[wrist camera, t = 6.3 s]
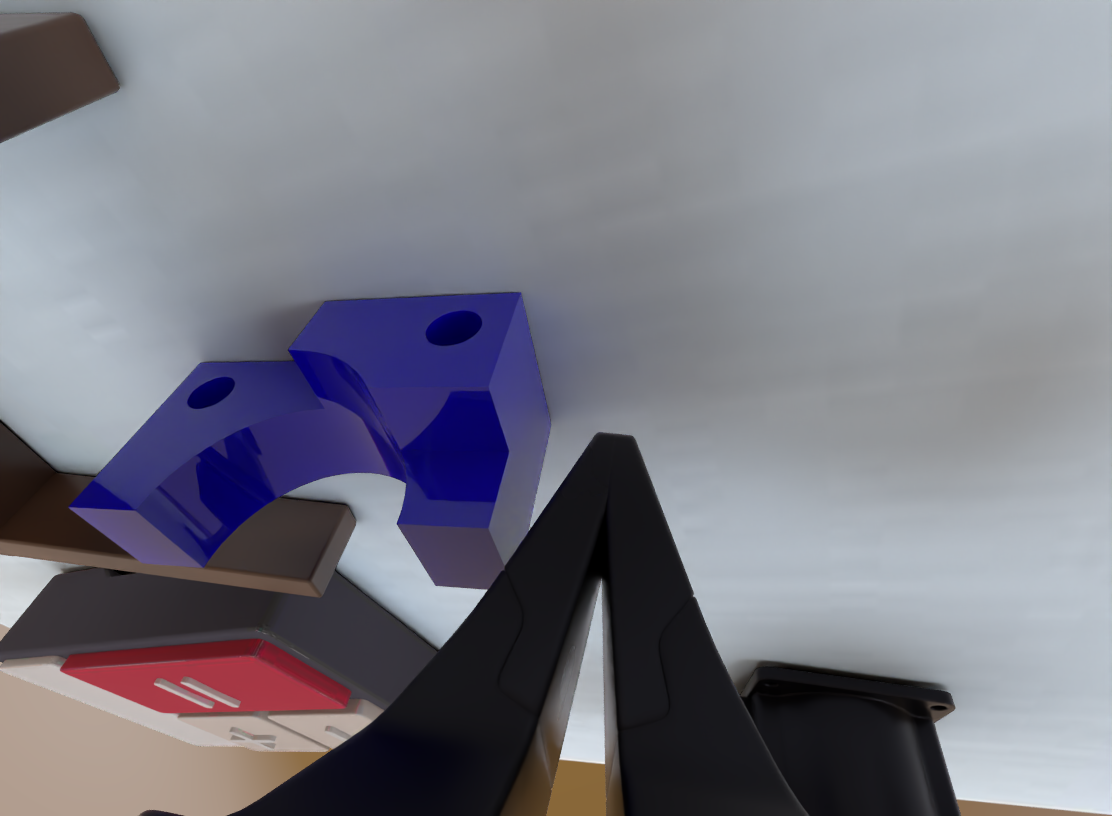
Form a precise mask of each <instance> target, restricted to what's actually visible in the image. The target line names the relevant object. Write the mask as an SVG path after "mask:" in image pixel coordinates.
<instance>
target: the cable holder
mask: <svg viewBox="0 0 1112 816" xmlns="http://www.w3.org/2000/svg"><path fill="white" fill-rule="evenodd" d="M288 351H289V353H290V354H291V356H292V358H293V359H294V361H270V362H219V363H200V364H199V365H198V366H197V367H196V368H195V369H194V370H193V371H192V372H191V373H190V375H189V376H188V377H187V378H186V379H185V380H184V381H183V382H182V383H181V384H180V385H179V387H178V388H177V389H176V390H175V391H174V392H173V393H172V394H171V395H170V396H169V397H168V399H167V400H166V401H165V402H164V403H163V404H162V405H161V406H160V407H159V408H158V409H157V411H156V412H155V413H154V414H153V415H152V416H151V417H150V418H149V419H148V420H147V421H146V423H145V424H144V425H143V426H142V427H141V428H140V429H139V430H138V431H137V432H136V433H135V435H134V436H133V437H132V438H131V439H130V440H129V441H128V442H127V443H126V444H125V445H124V447H123V448H122V449H121V450H120V451H119V452H118V453H117V454H116V455H115V456H114V457H113V459H112V460H111V461H110V462H109V463H108V464H107V465H106V466H105V467H104V468H103V469H102V471H101V472H100V473H99V474H98V475H97V476H96V477H95V478H94V479H93V480H92V481H91V483H90V484H89V485H88V486H87V487H86V488H85V489H84V490H83V491H82V492H81V493H80V495H79V496H78V497H77V498H76V499H75V500H74V501H73V502H72V503H71V504H70V505H69V506H68V508H69V509H71V510H72V511H73V512H75V513H76V514H77V515H79V516H80V517H81V518H83V519H84V520H85V521H87V522H88V523H89V524H91V525H92V526H93V527H95V528H96V529H97V530H99V531H100V532H101V533H103V534H104V535H105V536H107V537H108V538H109V539H111V540H112V541H113V542H115V543H116V544H117V545H119V546H120V547H121V548H123V549H124V550H125V551H127V552H128V553H129V554H131V555H132V556H133V557H135V558H136V559H137V560H138V561H140V562H141V563H143V564H156V565H170V566H183V567H196V568H204V567H205V565H206V564H207V562H208V561H209V560H210V558H211V557H212V555H213V554H214V553H215V552H216V551H217V549H218V548H219V547H220V546H221V544H222V543H223V542H224V541H225V540H226V539H227V538H228V537H229V536H230V535H231V534H232V533H233V532H234V531H235V530H236V529H237V528H238V527H239V526H240V525H241V524H242V523H244V522H245V521H246V520H247V519H248V518H250V517H251V516H252V515H253V514H255V513H256V512H257V511H259V510H260V509H261V508H263V507H264V506H266V505H267V504H269V503H270V502H272V501H273V500H275V499H277V498H278V497H280V496H282V495H284V494H286V493H287V492H289V491H292V490H294V489H296V488H298V487H300V486H303V485H305V484H308V483H310V482H313V481H316V480H319V479H322V478H326V477H330V476H335V475H340V474H347V473H375V474H382V475H386V476H390V477H393V478H396V479H398V480H401V481H403V482H405V483H406V491H405V498H404V502H403V506H402V510H401V513H400V516H399V519H398V522H397V525H398V527H399V528H400V530H401V532H402V533H403V535H404V536H405V538H406V539H407V541H408V543H409V544H410V546H411V547H412V549H413V551H414V552H415V554H416V555H417V557H418V558H419V560H420V562H421V563H422V565H423V566H424V568H425V570H426V571H427V573H428V574H429V576H430V577H431V579H432V581H433V582H434V584H435V585H436V586H447V587H460V588H473V589H487V590H488V589H489V588H490V587H491V585H492V584H493V582H494V581H495V579H496V578H497V576H498V575H499V574H500V572H501V571H502V570H504V567H505V565H506V564H507V562H508V561H509V559H510V558H511V556H512V555H513V554H514V552H515V551H516V549H517V548H518V546H519V545H520V543H521V542H522V540H523V539H524V538H525V536H526V535H527V533H528V531H529V526H530V521H531V517H532V512H533V508H534V503H535V498H536V494H537V489H538V484H539V480H540V475H541V470H542V466H543V461H544V456H545V452H546V447H547V442H548V438H549V433H550V428H551V421H550V417H549V412H548V408H547V404H546V399H545V395H544V391H543V386H542V382H541V377H540V373H539V369H538V364H537V360H536V356H535V351H534V347H533V343H532V338H531V334H530V329H529V325H528V321H527V316H526V312H525V308H524V303H523V299H522V294H521V292H519V293H497V294H475V295H453V296H431V297H409V298H388V299H366V300H344V301H325V302H324V303H323V305H322V306H321V307H320V308H319V310H318V311H317V312H316V314H315V315H314V316H313V318H312V319H311V320H310V321H309V323H308V324H307V325H306V327H305V328H304V329H303V331H302V332H301V333H300V334H299V336H298V337H297V338H296V340H295V341H294V342H293V344H292V345H291V346H290V348H289V349H288ZM504 571H505V570H504Z"/></svg>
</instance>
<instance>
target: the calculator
mask: <svg viewBox="0 0 1112 816" xmlns="http://www.w3.org/2000/svg"><path fill="white" fill-rule="evenodd" d="M436 653H437V651H436V650H435V649H434V648H432V647H431V646H430V645H428V644H427V643H426V642H425V641H423V640H422V639H421V638H420V637H418V636H417V635H416V634H414V633H413V632H412V631H411V630H409V629H408V628H407V627H406V626H404V625H403V624H402V623H400V622H399V621H398V620H397V619H395V618H394V617H393V616H392V615H390V614H389V613H388V612H387V611H385V610H384V609H383V608H381V607H380V606H379V605H378V604H376V603H375V602H374V601H373V600H371V599H370V598H369V597H367V596H366V595H365V594H364V593H362V592H361V591H360V590H359V589H357V588H356V587H355V586H353V585H352V584H351V583H350V582H348V581H347V580H346V579H345V578H343V577H342V576H341V575H339V574H338V573H337V572H336V571H334V572H333V575H332V577H331V579H330V581H329V583H328V585H327V587H326V589H325V591H324V594H323V596H322V597H311V596H304V595H297V594H289V593H282V592H275V591H268V590H260V589H253V588H246V587H238V586H231V585H224V584H217V583H209V582H202V581H195V580H187V579H180V578H173V577H165V576H158V575H151V574H144V573H133V574H127V575H120V574H118V573H117V572H115V571H113V570H111V569H107V568H100V567H99V568H93V569H87V570H81V571H75V572H69V573H64V574H59V575H56V576H54V577H53V578H52V579H51V581H50V582H49V583H48V584H47V585H46V586H45V588H44V589H43V590H42V591H41V592H40V594H39V595H38V596H37V597H36V599H35V600H34V601H33V602H32V603H31V605H30V606H29V607H28V608H27V609H26V611H25V612H24V613H23V614H22V616H21V617H20V618H19V619H18V620H17V622H16V623H15V624H14V625H13V626H12V628H11V629H10V630H9V632H8V633H7V634H6V635H5V636H4V637H3V639H2V640H1V641H0V662H2V663H3V664H2V665H1V666H0V671H2V672H5V673H7V674H10V675H12V676H15V677H18V678H20V679H23V680H25V681H28V682H30V683H33V684H36V685H38V686H41V687H44V688H46V689H49V690H51V691H54V692H57V693H59V694H62V695H64V696H67V697H70V698H72V699H75V700H78V701H80V702H83V703H85V704H88V705H91V706H93V707H96V708H98V709H101V710H104V711H106V712H109V713H112V714H114V715H117V716H119V717H122V718H125V719H127V720H130V721H132V722H135V723H138V724H140V725H143V726H146V727H148V728H151V729H154V730H156V731H159V732H161V733H164V734H166V735H169V736H172V737H174V738H177V739H180V740H183V741H185V742H187V743H190V744H193V745H196V746H243V747H246V748H248V749H251V750H254V751H298V752H300V751H301V752H307V751H308V752H326V751H328V750H329V748H333V749H334V748H336V747H337V746H339V745H340V744H342V743H343V742H345V741H346V740H348V739H349V738H350V737H352V736H353V735H355V734H356V733H358V732H359V731H361V730H362V729H363V728H365V727H366V726H367V725H369V724H370V723H371V722H372V721H374V720H375V719H376V718H377V717H378V716H379V715H380V714H381V713H382V712H383V711H384V710H385V709H387V708H388V707H389V706H390V705H391V704H392V703H393V701H394V700H395V699H396V698H397V697H398V696H399V695H400V694H401V693H402V692H403V691H404V689H405V688H406V687H407V686H408V685H409V684H410V683H411V682H412V680H413V679H414V678H415V677H416V676H417V675H418V674H419V672H420V671H421V670H422V669H423V668H424V667H425V666H426V665H427V663H428V662H429V661H430V660H431V659H432V658H433V657H434V655H435V654H436Z"/></svg>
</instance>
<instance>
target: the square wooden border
mask: <svg viewBox="0 0 1112 816" xmlns="http://www.w3.org/2000/svg"><path fill="white" fill-rule="evenodd" d="M119 89H120V86H119V83H118V81H117V79H116V77H115V75H114V74H113V72H112V70H111V68H110V66H109V64H108V63H107V61H106V59H105V57H104V55H103V53H102V51H101V50H100V48H99V46H98V44H97V42H96V40H95V39H94V37H93V35H92V33H91V31H90V29H89V27H88V26H87V24H86V22H85V20H84V19H83V18H82V16H81V15H79V14H76V13H72V12H66V13H14V14H0V143H2V142H4V141H6V140H8V139H11V138H13V137H15V136H18V135H20V134H22V133H24V132H27V131H29V130H31V129H34V128H36V127H38V126H40V125H43V124H45V123H47V122H49V121H52V120H54V119H56V118H59V117H61V116H63V115H65V114H68V113H70V112H72V111H74V110H77V109H79V108H81V107H84V106H86V105H88V104H90V103H93V102H95V101H97V100H99V99H102V98H104V97H106V96H109V95H111V94H113V93H115V92H117V91H118V90H119ZM94 478H95V477H89V476H81V475H72V474H63V473H56V472H55V471H54V470H53V469H52V468H51V467H50V466H49V465H47V464H46V463H45V462H44V461H43V460H42V459H41V458H40V457H39V456H37V455H36V454H35V453H34V452H33V451H32V450H31V449H30V448H28V447H27V446H26V445H25V444H24V443H23V442H22V441H21V440H20V439H18V438H17V437H16V436H15V435H14V434H13V433H12V432H11V431H9V430H8V429H7V428H6V427H5V426H4V425H3V424H2V423H1V422H0V554H1V555H8V556H20V557H27V558H34V559H42V560H49V561H56V562H63V563H71V564H78V565H85V566H93V567H100V568H107V569H114V570H122V571H129V572H136V573H144V574H151V575H158V576H165V577H173V578H180V579H187V580H195V581H202V582H209V583H217V584H224V585H231V586H238V587H246V588H253V589H260V590H268V591H275V592H282V593H289V594H297V595H304V596H311V597H322V596H323V594H324V591H325V589H326V587H327V585H328V583H329V581H330V579H331V577H332V575H333V572H334V570H335V568H336V566H337V564H338V562H339V560H340V558H341V555H342V553H343V551H344V549H345V547H346V545H347V543H348V541H349V539H350V536H351V534H352V532H353V530H354V528H355V526H356V520H355V518H354V517H353V515H352V513H351V511H350V509H349V507H348V506H346V505H340V504H331V503H322V502H313V501H304V500H295V499H286V498H277V499H275V500H273V501H272V502H270V503H269V504H267V505H266V506H264V507H263V508H261V509H260V510H259V511H257V512H256V513H255V514H253V515H252V516H251V517H250V518H248V519H247V520H246V521H245V522H244V523H242V524H241V525H240V526H239V527H238V528H237V529H236V530H235V531H234V532H233V533H232V534H231V535H230V536H229V537H228V538H227V539H226V540H225V541H224V542H223V543H222V544H221V546H220V547H219V548H218V549H217V551H216V552H215V553H214V554H213V555H212V557H211V558H210V560H209V561H208V562H207V564H206V565H205V567H204V568H196V567H183V566H170V565H156V564H143V563H141V562H140V561H138V560H137V559H136V558H135V557H133V556H132V555H131V554H129V553H128V552H127V551H125V550H124V549H123V548H121V547H120V546H119V545H117V544H116V543H115V542H113V541H112V540H111V539H109V538H108V537H107V536H105V535H104V534H103V533H101V532H100V531H99V530H97V529H96V528H95V527H93V526H92V525H91V524H89V523H88V522H87V521H85V520H84V519H83V518H81V517H80V516H79V515H77V514H76V513H75V512H73V511H72V510H71V509H69V508H68V506H69V505H70V504H71V503H72V502H73V501H74V500H75V499H76V498H77V497H78V496H79V495H80V493H81V492H82V491H83V490H84V489H85V488H86V487H87V486H88V485H89V484H90V483H91V481H92V480H93V479H94Z"/></svg>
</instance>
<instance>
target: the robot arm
mask: <svg viewBox="0 0 1112 816" xmlns="http://www.w3.org/2000/svg"><path fill="white" fill-rule="evenodd" d="M504 570H505V571H504ZM504 570H502V571H501V572H500V574H499V575H498V576H497V578H496V579H495V581H494V582H493V584H492V585H491V587H490V588H489V589H488V591H487V592H486V593H485V595H484V596H483V597H482V599H481V600H480V602H479V603H478V604H477V606H476V607H475V608H474V610H473V611H472V612H471V613H470V615H469V616H468V617H467V618H466V619H465V621H464V622H463V623H462V624H461V625H460V627H459V628H458V629H457V630H456V631H455V633H454V634H453V635H452V636H451V637H450V638H449V640H448V641H447V642H446V643H445V644H444V645H443V646H442V648H441V649H440V650H439V651H438V652H437V653H436V654H435V655H434V657H433V658H432V659H431V660H430V661H429V662H428V663H427V665H426V666H425V667H424V668H423V669H422V670H421V671H420V672H419V674H418V675H417V676H416V677H415V678H414V679H413V680H412V682H411V683H410V684H409V685H408V686H407V687H406V688H405V689H404V691H403V692H402V693H401V694H400V695H399V696H398V697H397V698H396V699H395V700H394V701H393V703H392V704H391V705H390V706H389V707H388V708H387V709H385V710H384V711H383V712H382V713H381V714H380V715H379V716H378V717H377V718H376V719H375V720H374V721H372V722H371V723H370V724H369V725H367V726H366V727H365V728H363V729H362V730H361V731H359V732H358V733H356V734H355V735H353V736H352V737H350V738H349V739H348V740H346V741H345V742H343V743H342V744H340V745H339V746H337V747H336V748H334V749H333V750H331V751H330V752H328V753H327V754H326V755H324V756H322V757H321V758H320V759H318V760H317V761H315V762H314V763H312V764H311V765H309V766H308V767H306V768H305V769H303V770H302V771H300V772H299V773H297V774H296V775H295V776H293V777H291V778H290V779H289V780H287V781H286V782H284V783H283V784H281V785H280V786H278V787H277V788H275V789H274V790H272V791H271V792H270V793H268V794H266V795H265V796H264V797H262V798H261V799H259V800H257V801H256V802H254V803H252V804H251V805H249V806H247V807H246V808H244V809H242V810H240V811H238V812H235V813H232V814H230V815H227V816H546V814H547V810H548V805H549V801H550V797H551V792H552V790H551V788H552V787H553V784H554V779H555V774H556V771H557V767H558V762H559V758H560V754H561V749H562V745H563V741H564V737H565V732H566V728H567V724H568V720H569V715H570V711H571V707H572V702H573V698H574V694H575V690H576V685H577V681H578V677H579V673H580V668H581V664H582V660H583V655H584V651H585V647H586V643H587V638H588V634H589V630H590V626H591V621H592V617H593V613H594V608H595V604H596V600H597V596H598V591H599V587H600V583H601V578H602V622H603V673H604V725H605V771H606V772H605V774H606V775H605V777H606V799H607V800H606V816H961V814H960V810H959V807H958V804H957V800H956V797H955V793H954V790H953V786H952V783H951V780H950V776H949V773H948V769H947V766H946V763H945V759H944V756H943V752H942V749H941V746H940V742H939V739H938V735H937V732H936V728H935V725H934V723H935V722H937V721H938V720H940V719H941V718H943V717H944V716H946V715H947V714H949V713H950V712H952V711H954V710H955V705H954V702H953V699H952V696H951V694H950V693H948V692H945V691H941V690H934V689H926V688H919V687H912V686H905V685H898V684H890V683H883V682H876V681H869V680H862V679H854V678H847V677H840V676H833V675H826V674H818V673H811V672H804V671H797V670H790V669H782V668H775V667H761V668H758V669H756V670H755V672H754V673H753V675H752V676H751V678H750V680H749V681H748V683H747V685H746V686H745V688H744V690H743V691H742V693H741V695H739V693H738V691H737V689H736V687H735V685H734V684H733V682H732V680H731V678H730V676H729V674H728V671H727V669H726V667H725V665H724V663H723V661H722V659H721V657H720V655H719V653H718V651H717V649H716V647H715V644H714V642H713V639H712V637H711V635H710V632H709V630H708V627H707V625H706V623H705V620H704V618H703V615H702V613H701V610H700V607H699V605H698V602H697V600H696V598H695V597H693V595H694V592H693V590H692V587H691V584H690V582H689V579H688V576H687V574H686V571H685V569H684V566H683V563H682V561H681V558H680V555H679V553H678V550H677V548H676V545H675V542H674V540H673V537H672V534H671V532H670V529H669V526H668V524H667V521H666V519H665V516H664V513H663V511H662V508H661V505H660V503H659V500H658V498H657V495H656V492H655V490H654V487H653V484H652V482H651V479H650V476H649V474H648V471H647V469H646V466H645V463H644V461H643V458H642V455H641V453H640V450H639V448H638V445H637V442H636V440H635V438H634V437H633V436H631V435H623V434H613V433H603V432H599V433H597V434H596V435H595V436H594V437H593V439H592V440H591V442H590V443H589V445H588V446H587V448H586V449H585V451H584V452H583V453H582V455H581V456H580V458H579V459H578V461H577V462H576V464H575V465H574V466H573V468H572V469H571V471H570V472H569V474H568V475H567V477H566V478H565V480H564V481H563V482H562V484H561V485H560V487H559V488H558V490H557V491H556V493H555V494H554V495H553V497H552V498H551V500H550V501H549V503H548V504H547V506H546V507H545V509H544V510H543V511H542V513H541V514H540V516H539V517H538V519H537V520H536V522H535V523H534V525H533V526H532V527H531V529H530V530H529V532H528V533H527V535H526V536H525V538H524V539H523V540H522V542H521V543H520V545H519V546H518V548H517V549H516V551H515V552H514V554H513V555H512V556H511V558H510V559H509V561H508V562H507V564H506V565H505V567H504ZM139 816H183V815H178V814H174V813H169V812H164V811H157V810H147V811H144V812H143V813H141V814H140V815H139Z"/></svg>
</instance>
